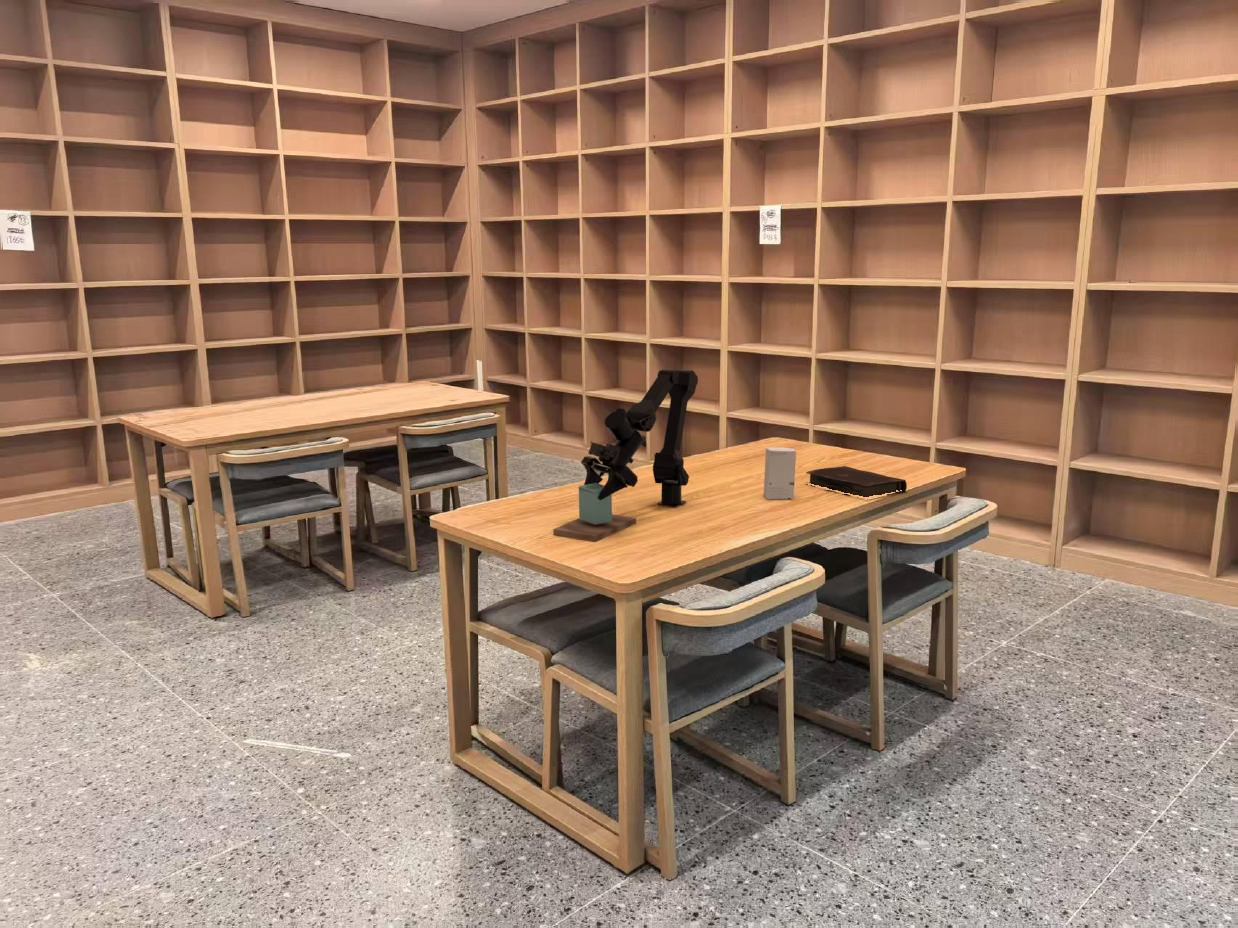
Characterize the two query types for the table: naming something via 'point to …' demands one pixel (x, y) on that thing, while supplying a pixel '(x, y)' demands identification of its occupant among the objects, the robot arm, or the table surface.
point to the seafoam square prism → (594, 504)
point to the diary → (856, 481)
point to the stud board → (594, 528)
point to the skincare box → (779, 473)
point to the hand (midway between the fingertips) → (590, 496)
